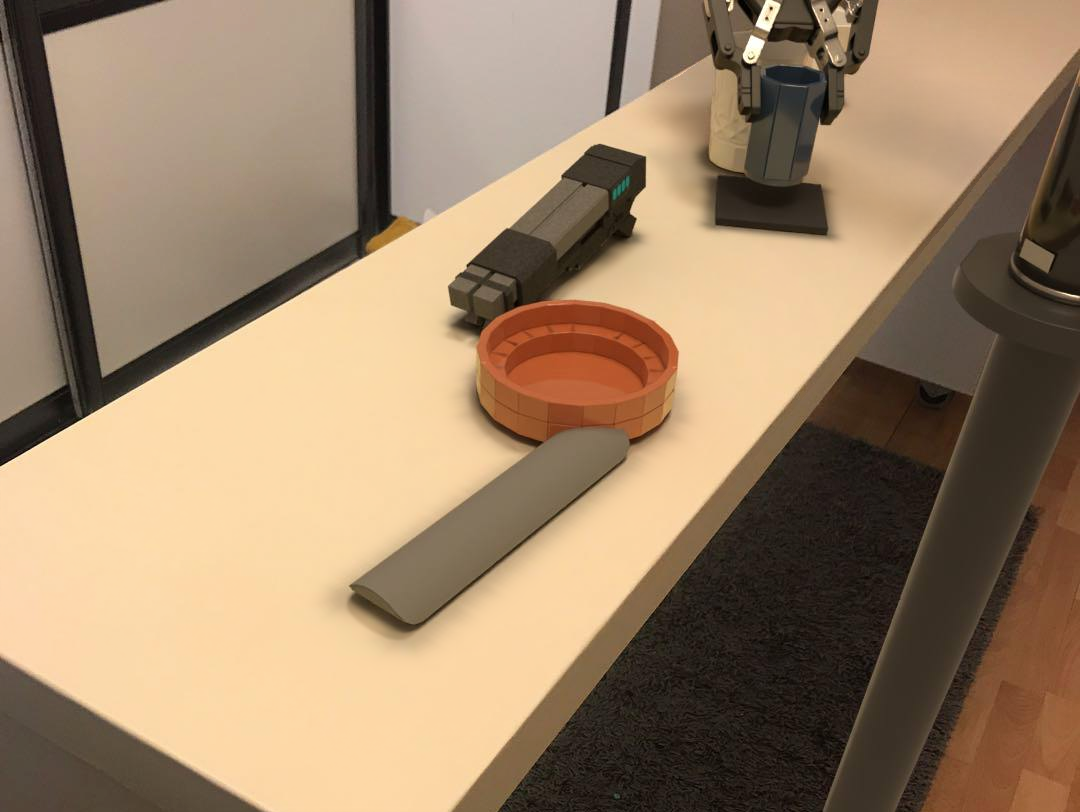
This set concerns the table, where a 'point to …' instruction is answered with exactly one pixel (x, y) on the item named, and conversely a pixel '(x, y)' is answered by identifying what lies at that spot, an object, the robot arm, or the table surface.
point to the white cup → (725, 116)
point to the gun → (553, 234)
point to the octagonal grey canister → (785, 124)
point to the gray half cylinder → (490, 523)
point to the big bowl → (575, 369)
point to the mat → (770, 205)
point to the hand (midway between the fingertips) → (791, 119)
